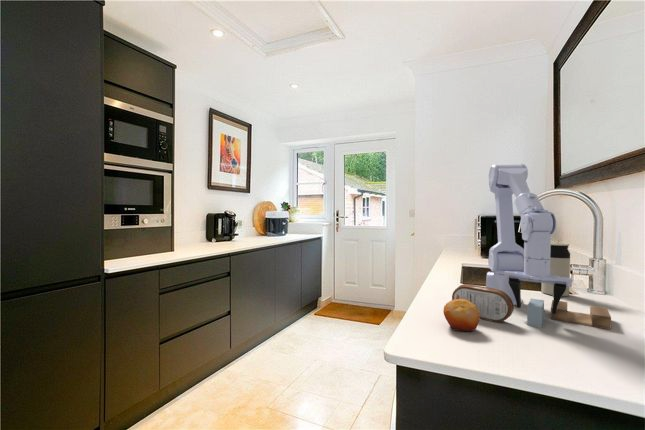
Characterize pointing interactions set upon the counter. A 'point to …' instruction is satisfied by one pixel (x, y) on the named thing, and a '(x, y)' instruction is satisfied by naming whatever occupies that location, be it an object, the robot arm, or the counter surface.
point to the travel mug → (558, 266)
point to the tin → (486, 301)
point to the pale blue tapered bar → (535, 312)
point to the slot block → (583, 316)
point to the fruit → (461, 314)
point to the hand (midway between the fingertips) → (536, 309)
